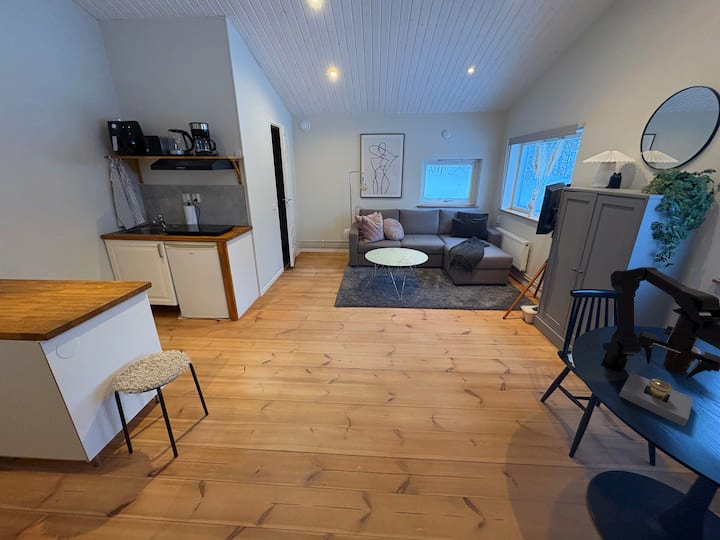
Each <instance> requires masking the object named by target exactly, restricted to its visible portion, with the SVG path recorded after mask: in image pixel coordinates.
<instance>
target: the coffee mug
mask: <svg viewBox="0 0 720 540" xmlns="http://www.w3.org/2000/svg"><path fill="white" fill-rule="evenodd" d="M692 351H693V352H696V353H699V354H702V353H701V350H700V349H699V348H697V347H695V346H694V347H693V349H692ZM696 360H697V359H694V358H691V357H689V356H686V355H683V354H680V353H677V352H675V351H672V350H669V349H666V351H665V355H664V359H663V363H662V366H663V367H664V368H665V369H666V370H669V372H670V371H671V372H672V373H676V374H679V375H680V374H681V375H683V374H686V373H687V371H689V369H690V367H691V366H693V364H694V362H695V361H696Z"/></svg>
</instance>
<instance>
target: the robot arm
mask: <svg viewBox="0 0 720 540" xmlns="http://www.w3.org/2000/svg"><path fill="white" fill-rule="evenodd" d="M641 282H647V283H649V284H651V285H652V286H654V287H656V288H657V289H659V290H660V291H662V292H664V293H665V294H667V295H668V296H670V297H671V298H672V299H673V300H674V302H675V304H676V305H677V306H678V308H675V309H674V308H673V309H672V312H673V313H676V314H678V317H677V318H676V321H675V324H674V326H672V325H671V326H670V325H667V326H666V329H665V331H664V334H663V335H664V336H668V338H667V340H666V341H663V340H661V339H658V334H654V333H652V332H648V331H645V330H644V331H641V332H640V333H639V335H638V334H637V333H636V332H635V293H636V292H637V290H638V289H639V288H640V286H641V285H640V284H641ZM610 284H611V288H612V289H613V290H614V291H615V293H616V330H615V332H613V334H612V335H611V341H610V342H605V343H603V344H602V349H603V351H605V353H604V355H603V359H601V362H600V364H601V365H602V366H604V367H607V368H610V369H612V370H614V371H617V372H619V373H621V372H622V370H625V369H626V367H627V364H628V362H629V360H630V359H629V358H628V357H629V356H634V355H636V354H638V353H641V350H642V349H644V352H645V355H646V363H647V365H649V364H650V362H651V361H652V357H653V352H654V349H655V346H658V347H661V348H664V349H666V350H667V349H669V350H672V351H675V352H677V353H680V354H683V355H686V356H689V357H691V358H694V359H696V360H697V361H696V362H695V364H694V365H693V366H692V368H691V369H690V370H688V371H689V372H687V375H686V376H685V380H689V379H690V378H692V377H694V376H695V375H697V374H700V373H703V372H705V371H707V372H712V371H713V372H715V373H716V372H717V373H718V372H720V356H719V355H716V354H714V353H711V352H707V351H704V352H703V354H702V353H700V354H699V353H696V352H693V351H692V349H693V347H695V345H696V343H697V341H698V340H701V341H703V342H705V343H707V344H709V345H710V346H712V347H714V348H716V349H718V350H720V298H719V297H717V296H715V295H713V294H711V293H708V292H705V291H703V290H699V289H694V288H691V287H688V286H687V285H684V284H683V283H681V282H679V281H677V280H676V279H673V278H672V277H670V276H668V275H667V274H665V273H664V272H661V271H659V270H658V269H657V268H656V267H654V266H640V267H638V268H633V269H626V270H615V271H613V272H612V273H611V274H610ZM700 314H703V315H700ZM705 314H706V315H705ZM707 314H709V315H707Z"/></svg>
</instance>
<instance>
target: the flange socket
mask: <svg viewBox="0 0 720 540" xmlns="http://www.w3.org/2000/svg"><path fill="white" fill-rule="evenodd" d="M650 380H651V379H649V378H646V377H644V376H641V375H638V374H636V373H634V372H630V373H629V375H628V378H627V379H626V381H625V383H624V385H623V386H622V387H621V390H620V392H619V395H618V396H619V397H620V398H623V399H625V400H627V401H629V402H630V403H633V404H635V405H637V406H639V407H641V408H643V409H645V410H646V411H647V410H648V411H650V412H652V413H654V414H656V415H658V416H660V417H662V418H664V419H666V420H669V421H671V422H673V423H675V424H677V425H679V426H681V427H683V428H684V427H685V426H686V424H687V423H688V420H689V417H690V414H691V410H692V405H693V401H694V397H691V396H689V395H686V394H684V393H682V392H680V391H677V390H675V389H673V390H672V391H671V392H670V393H667V394H666V396H665V398H664V400H663V401H661V400H659V399H657V398H654V397H652V396H650V395H648V391H649V389H650V387H651V385H650V383H649V382H650Z"/></svg>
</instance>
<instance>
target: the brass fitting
mask: <svg viewBox="0 0 720 540" xmlns="http://www.w3.org/2000/svg"><path fill="white" fill-rule="evenodd" d="M649 380H650V382H649V383H650V385H651V387H650V389H649V391H648V393H647V394H648V395H650V396H652V397H654V398H657V399H659V400H661V401H663V402H664V401H665V400H664V398H665V396H666V394H667V393H670V392H671V391H672V390H674V389H673V386H672V385H671V384H669V383H668V382H667V381H666V382H665V380H664V381H663V380H661V379H658V378H650V379H649Z"/></svg>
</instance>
